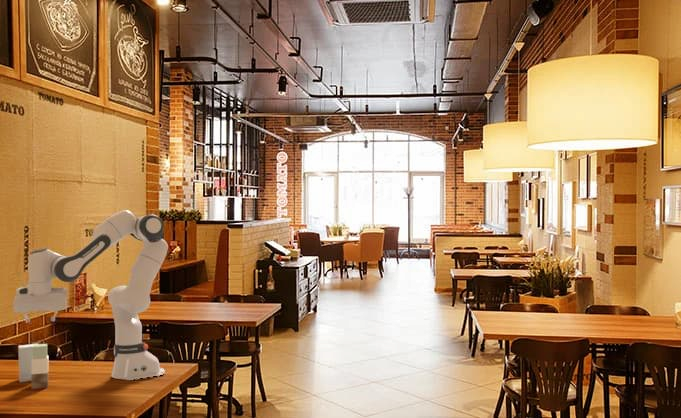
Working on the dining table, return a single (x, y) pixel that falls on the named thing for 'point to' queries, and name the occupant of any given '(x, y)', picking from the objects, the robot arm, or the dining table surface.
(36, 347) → the block small
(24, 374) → the skincare box
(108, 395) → the dining table surface
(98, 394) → the dining table surface
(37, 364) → the block top
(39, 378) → the block bottom
